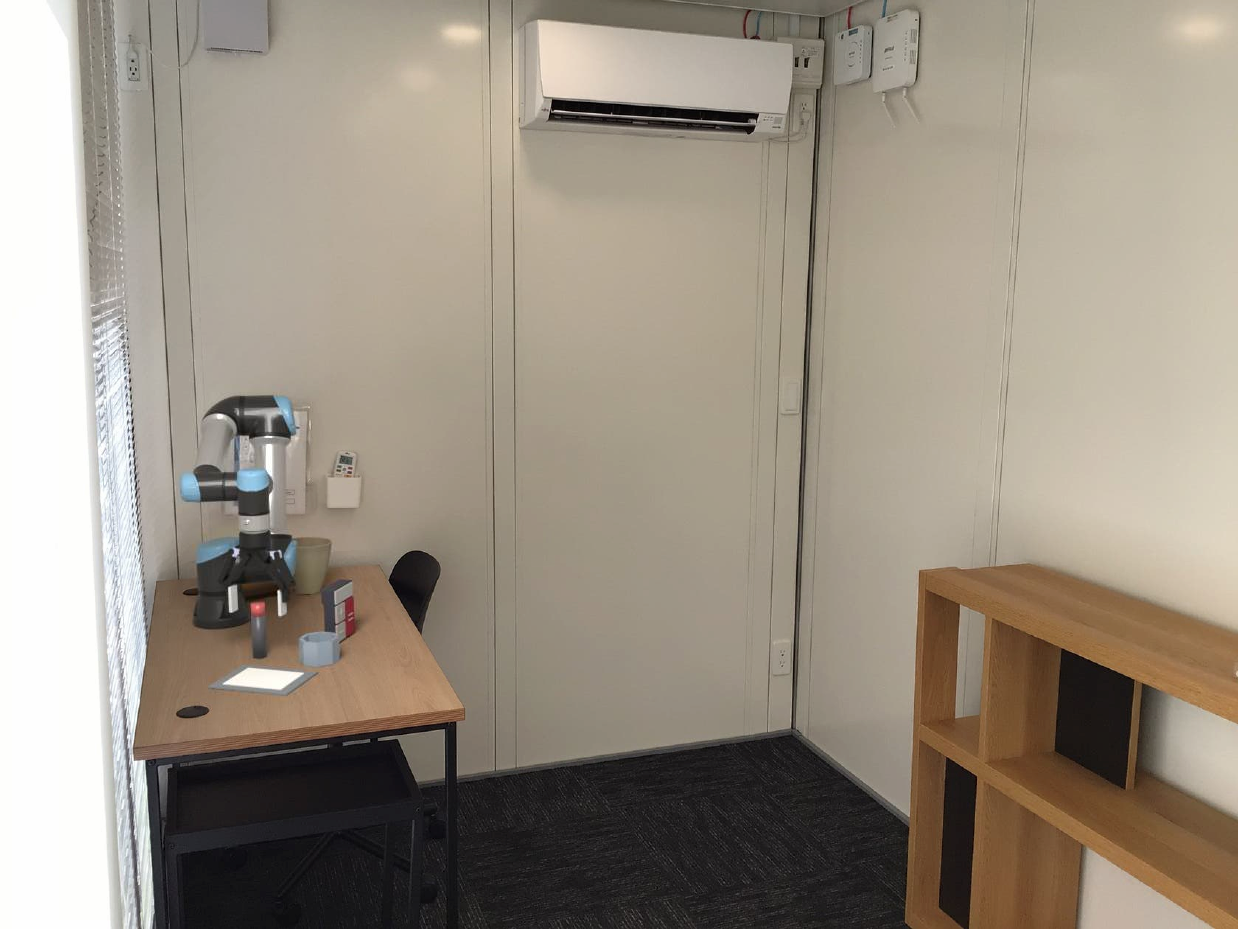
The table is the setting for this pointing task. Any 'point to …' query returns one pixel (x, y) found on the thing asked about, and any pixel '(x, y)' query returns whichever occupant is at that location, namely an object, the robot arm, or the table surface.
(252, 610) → the marker
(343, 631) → the grey and red block
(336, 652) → the pen cup
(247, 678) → the writing pad
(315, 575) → the plant pot
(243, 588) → the pan flute
